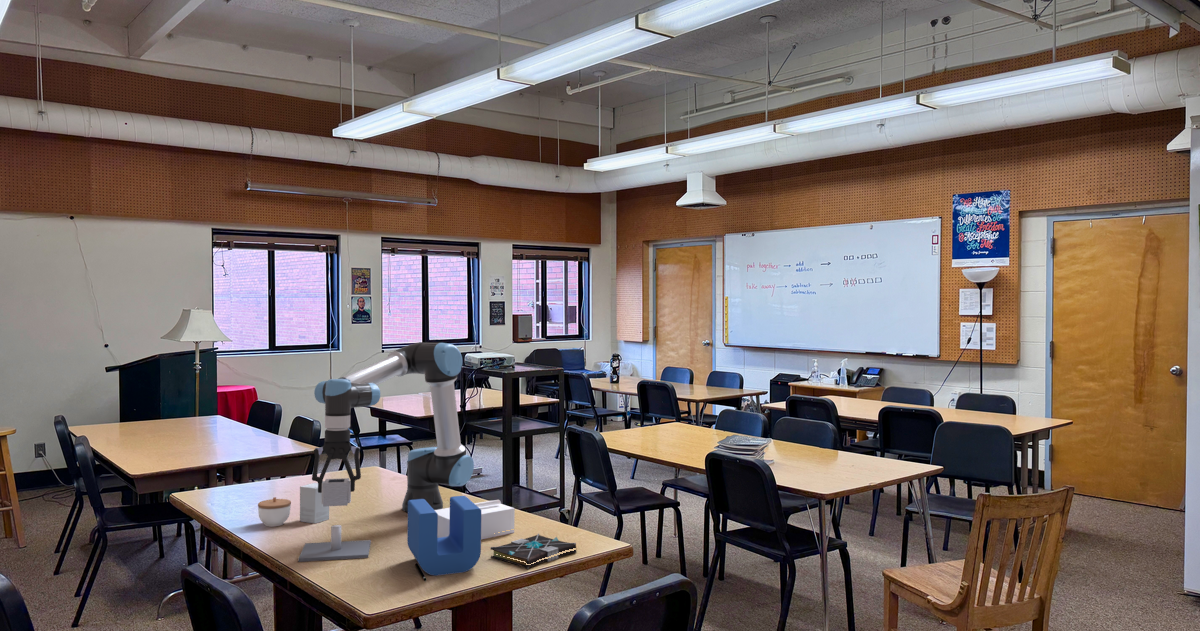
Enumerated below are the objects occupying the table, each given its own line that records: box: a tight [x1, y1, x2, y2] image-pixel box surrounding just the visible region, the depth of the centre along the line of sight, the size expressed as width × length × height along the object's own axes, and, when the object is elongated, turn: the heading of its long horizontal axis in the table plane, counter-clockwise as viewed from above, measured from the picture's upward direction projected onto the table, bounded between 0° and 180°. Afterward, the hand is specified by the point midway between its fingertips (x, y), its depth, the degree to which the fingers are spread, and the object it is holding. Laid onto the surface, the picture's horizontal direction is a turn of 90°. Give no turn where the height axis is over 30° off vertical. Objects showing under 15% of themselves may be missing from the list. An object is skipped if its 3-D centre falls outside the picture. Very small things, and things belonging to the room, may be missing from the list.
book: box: [490, 533, 577, 570], centre depth 245 cm, size 22×17×5 cm
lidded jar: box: [257, 497, 292, 528], centre depth 277 cm, size 11×11×9 cm
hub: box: [323, 477, 350, 507], centre depth 245 cm, size 7×7×7 cm
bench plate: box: [297, 524, 372, 563], centre depth 245 cm, size 20×16×8 cm
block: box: [406, 495, 482, 576], centre depth 234 cm, size 18×18×18 cm
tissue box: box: [435, 499, 516, 540], centre depth 267 cm, size 14×25×11 cm, turn 131°
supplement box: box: [299, 482, 330, 524], centre depth 283 cm, size 7×7×13 cm
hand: (336, 502), depth 245 cm, fingers closed on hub, 7 cm apart
